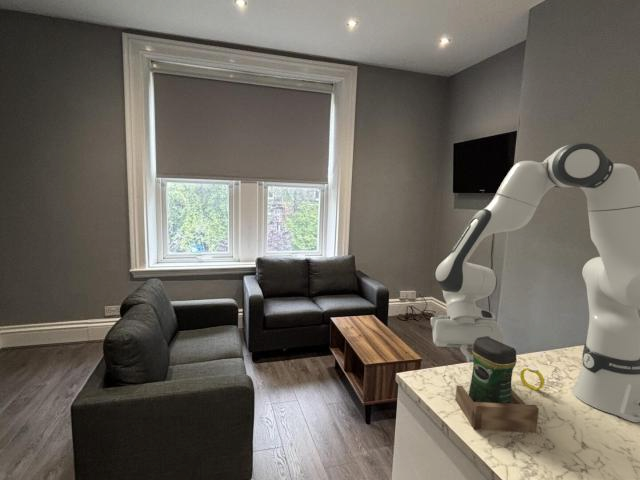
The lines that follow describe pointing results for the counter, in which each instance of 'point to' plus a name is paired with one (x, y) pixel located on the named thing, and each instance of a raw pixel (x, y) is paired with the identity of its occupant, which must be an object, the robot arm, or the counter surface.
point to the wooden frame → (498, 413)
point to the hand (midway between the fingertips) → (473, 361)
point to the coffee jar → (492, 371)
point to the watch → (535, 370)
